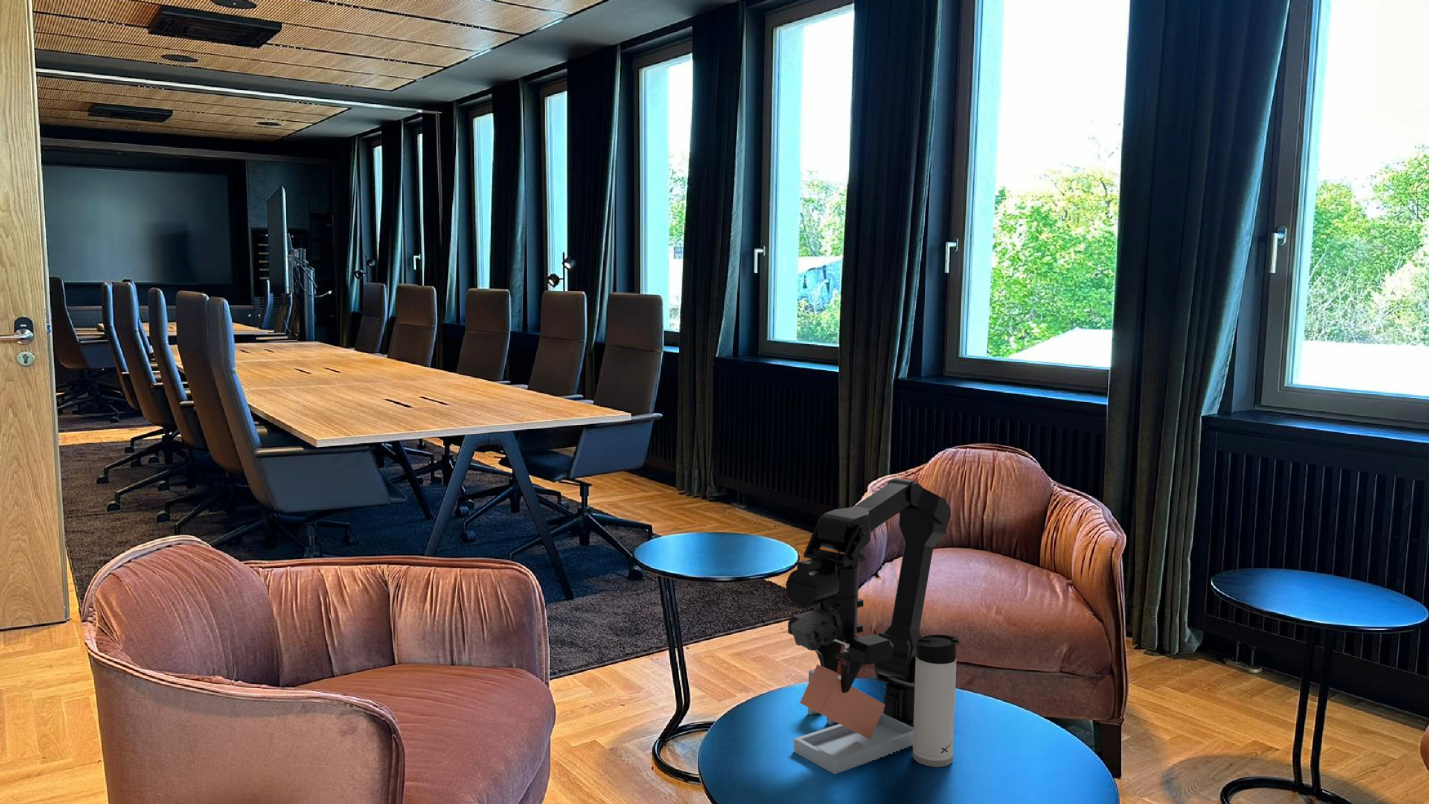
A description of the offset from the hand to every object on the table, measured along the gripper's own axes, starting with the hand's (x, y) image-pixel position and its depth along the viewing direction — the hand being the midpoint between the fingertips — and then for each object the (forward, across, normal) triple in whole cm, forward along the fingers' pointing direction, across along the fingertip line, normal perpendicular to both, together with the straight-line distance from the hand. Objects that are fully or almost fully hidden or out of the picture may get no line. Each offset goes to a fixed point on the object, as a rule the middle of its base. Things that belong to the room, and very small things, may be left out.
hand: (837, 689), depth 162 cm
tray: (+11, 0, +5) cm, 12 cm away
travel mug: (+11, +10, +12) cm, 19 cm away
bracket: (+11, -12, +9) cm, 18 cm away
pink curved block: (+6, 0, 0) cm, 6 cm away
